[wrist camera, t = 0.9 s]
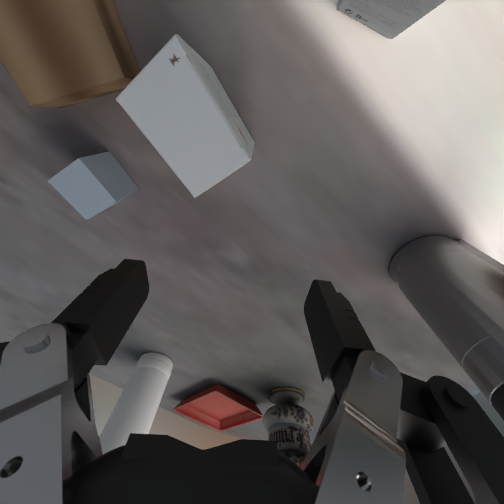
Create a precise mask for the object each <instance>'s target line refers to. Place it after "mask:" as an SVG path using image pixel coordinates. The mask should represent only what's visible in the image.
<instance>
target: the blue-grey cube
mask: <svg viewBox="0 0 504 504" xmlns="http://www.w3.org/2000/svg"><path fill="white" fill-rule="evenodd" d="M48 182H49V183H50V184H51V185H52V186H53V187H54V188H55V189H56V190H57V191H58V192H59V193H60V194H61V195H62V196H63V197H64V198H65V199H66V200H67V201H68V202H69V203H70V204H71V205H72V206H73V207H74V208H75V209H76V210H77V211H78V212H79V213H80V214H81V215H82V216H83V217H84V218H85V219H86V220H88V219H89V218H91V217H93V216H95V215H96V214H98V213H100V212H102V211H103V210H105V209H107V208H108V207H110V206H112V205H114V204H115V203H117V202H119V201H120V200H122V199H124V198H125V197H127V196H129V195H130V194H132V193H134V192H135V191H137V190H139V188H138V187H137V186H136V185H135V183H134V182H133V181H132V179H131V178H130V177H129V176H128V174H127V173H126V172H125V171H124V169H123V168H122V167H121V165H120V164H119V163H118V162H117V160H116V159H115V158H114V156H113V155H112V154H111V153H110V151H109V152H104V153H99V154H95V155H90V156H86V157H81V158H78V159H77V160H75V161H74V162H73V163H71V164H70V165H69V166H67V167H66V168H64V169H63V170H62V171H60V172H59V173H58V174H56V175H55V176H54V177H52V178H51V179H50V180H48Z"/></svg>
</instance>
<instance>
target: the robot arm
mask: <svg viewBox="0 0 504 504" xmlns="http://www.w3.org/2000/svg"><path fill="white" fill-rule="evenodd" d="M389 274H390V277H391V278H392V279H393V281H394V282H395V283H396V285H397V286H398V287H399V288H400V290H401V291H402V292H403V293H404V295H405V296H406V297H407V299H408V300H409V301H410V302H411V304H412V305H413V306H414V308H415V309H416V310H417V311H418V313H419V314H420V315H421V316H422V318H423V319H424V320H425V321H426V323H427V324H428V325H429V326H430V328H431V329H432V330H433V332H434V333H435V334H436V335H437V337H438V338H439V339H440V340H441V342H442V343H443V344H444V345H445V347H446V348H447V349H448V350H449V352H450V353H451V354H452V356H453V357H454V358H455V359H456V361H457V362H458V363H459V364H460V366H461V367H462V368H463V369H464V371H465V372H466V373H467V374H468V376H469V377H470V378H471V379H472V381H473V382H474V383H475V384H476V386H477V387H478V388H479V389H480V391H481V392H482V393H483V394H484V396H485V397H486V398H487V400H488V401H489V402H490V403H491V404H492V406H493V407H494V408H495V410H496V411H497V412H498V413H499V415H500V416H501V417H502V419H503V420H504V265H503V264H501V263H499V262H498V261H496V260H495V259H493V258H491V257H490V256H488V255H487V254H485V253H483V252H482V251H480V250H478V249H477V248H475V247H474V246H472V245H470V244H469V243H467V242H465V241H464V240H459V241H455V240H453V239H451V238H449V237H446V236H442V235H432V236H426V237H422V238H419V239H416V240H414V241H412V242H410V243H409V244H407V245H405V246H404V247H403V248H401V249H400V250H399V251H398V252H397V253H396V254H395V256H394V257H393V259H392V260H391V262H390V266H389ZM148 293H149V283H148V277H147V271H146V265H145V262H144V261H141V260H131V259H124V260H123V261H122V262H121V263H120V264H119V265H118V266H117V267H116V268H115V269H109V270H108V271H106V272H104V273H102V274H100V275H99V276H98V277H97V278H96V279H95V280H94V281H93V282H92V283H91V284H90V286H88V287H87V288H86V289H85V290H84V291H83V293H81V294H80V295H79V296H78V297H77V298H76V299H75V300H74V301H73V302H72V303H71V304H70V305H69V306H68V307H67V308H66V309H65V310H64V311H63V312H62V313H61V314H60V315H59V316H58V317H57V318H56V319H55V320H54V321H53V322H51V323H47V324H42V325H38V326H35V327H32V328H30V329H28V330H26V331H24V332H22V333H21V334H19V335H17V336H16V337H15V338H14V339H13V340H11V341H10V342H4V343H0V504H403V495H404V482H405V468H406V469H407V472H408V474H409V477H410V479H411V482H412V484H413V487H414V489H415V492H416V494H417V496H418V499H419V502H420V504H474V502H473V500H472V498H471V496H470V494H469V493H468V491H467V489H466V487H465V485H464V483H463V482H462V480H461V478H460V476H459V474H458V472H457V470H456V469H455V467H454V465H453V463H452V461H451V459H450V458H449V456H448V454H447V452H446V450H445V448H444V446H445V445H448V447H449V449H450V451H451V452H452V454H453V456H454V458H455V459H456V461H457V463H458V465H459V467H460V468H461V470H462V472H463V474H464V475H465V477H466V479H467V481H468V483H469V484H470V486H471V488H472V490H473V493H474V495H475V499H476V504H504V437H503V436H502V434H501V433H500V432H499V430H498V429H497V428H496V427H495V425H494V424H493V423H492V421H491V420H490V419H489V417H488V416H487V415H486V413H485V412H484V411H483V409H482V408H481V407H480V405H479V404H478V403H477V401H476V400H475V399H474V398H473V397H472V395H471V394H470V393H469V392H467V391H466V390H465V389H464V388H463V387H462V386H460V385H459V384H457V383H456V382H454V381H452V380H450V379H448V378H446V377H443V376H433V377H431V378H430V379H429V380H428V381H427V382H424V381H421V380H419V379H416V378H413V377H411V376H408V375H406V374H403V373H401V372H399V370H398V368H397V367H396V366H395V365H394V363H393V362H392V361H391V360H389V359H388V358H387V357H385V356H384V355H382V354H380V353H378V352H376V351H375V349H374V347H373V345H372V343H371V341H370V340H369V338H368V336H367V334H366V332H365V330H364V328H363V327H362V325H361V323H360V321H359V320H358V317H357V315H356V313H355V312H354V310H353V308H352V306H351V304H350V302H349V301H348V300H347V299H346V298H345V297H344V296H343V295H342V294H341V293H337V292H336V290H335V288H334V286H333V284H332V283H331V282H330V281H324V280H313V282H312V284H311V287H310V290H309V292H308V295H307V298H306V301H305V304H304V314H305V318H306V322H307V326H308V329H309V333H310V337H311V341H312V344H313V348H314V352H315V356H316V359H317V363H318V367H319V371H320V374H321V378H322V382H323V383H333V386H334V389H335V391H334V393H333V394H332V397H331V400H330V402H329V405H328V407H327V410H326V412H325V415H324V417H323V420H322V423H321V425H320V428H319V430H318V433H317V435H316V438H315V440H314V442H313V444H312V446H311V448H310V450H309V452H308V454H307V456H306V458H305V460H304V463H303V465H302V468H300V467H299V466H298V465H297V464H296V463H294V462H293V461H292V460H291V459H289V458H288V457H286V456H284V455H283V454H281V453H279V452H277V441H265V440H246V439H241V440H238V441H234V442H231V443H227V444H224V445H220V446H217V447H213V448H210V449H206V450H201V449H198V448H196V447H194V446H191V445H189V444H187V443H184V442H182V441H180V440H177V439H175V438H173V437H170V436H168V435H155V434H136V433H130V435H129V437H128V440H127V443H126V445H123V446H120V447H118V448H115V449H113V450H111V451H109V452H107V453H105V454H103V453H102V448H101V443H100V439H99V436H98V433H97V429H96V425H95V418H94V410H93V400H92V392H91V383H90V376H89V374H88V373H89V372H90V370H91V369H92V367H93V366H94V365H107V364H108V362H109V360H110V359H111V357H112V355H113V354H114V352H115V350H116V349H117V347H118V345H119V344H120V342H121V340H122V339H123V337H124V335H125V334H126V332H127V330H128V329H129V327H130V325H131V324H132V322H133V320H134V319H135V317H136V315H137V314H138V312H139V310H140V309H141V307H142V306H143V304H144V302H145V301H146V299H147V296H148Z"/></svg>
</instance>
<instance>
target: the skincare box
mask: <svg viewBox="0 0 504 504" xmlns="http://www.w3.org/2000/svg"><path fill="white" fill-rule="evenodd" d="M444 1H446V0H339V2H338V5H337V10H339V11H340V12H342V13H344V14H346V15H347V16H350V17H352V18H353V19H355V20H357V21H359V22H360V23H362V24H364V25H366V26H367V27H369V28H370V29H372V30H374V31H376V32H378V33H379V34H381V35H383V36H385V37H386V38H389V39H393V38H394V37H396V36H397V35H399V34H400V33H401V32H403V31H404V30H406V29H407V28H408V27H410V26H411V25H412V24H414V23H415V22H416V21H418V20H419V19H421V18H422V17H423V16H425V15H426V14H428V13H429V12H430V11H432V10H433V9H435V8H436V7H437V6H439V5H440V4H441V3H443V2H444Z"/></svg>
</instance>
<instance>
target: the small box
mask: <svg viewBox="0 0 504 504" xmlns="http://www.w3.org/2000/svg"><path fill="white" fill-rule="evenodd" d="M116 101H117V102H118V103H119V105H120V106H121V107H122V108H123V110H124V111H125V112H126V113H127V115H128V116H129V117H130V119H131V120H132V121H133V122H134V123H135V125H136V126H137V127H138V128H139V130H140V131H141V132H142V133H143V135H144V136H145V137H146V138H147V140H148V141H149V142H150V143H151V144H152V146H153V147H154V148H155V149H156V151H157V152H158V153H159V154H160V156H161V157H162V158H163V160H164V161H165V162H166V163H167V164H168V166H169V167H170V168H171V169H172V171H173V172H174V173H175V174H176V176H177V177H178V178H179V179H180V181H181V182H182V183H183V184H184V186H185V187H186V188H187V189H188V191H189V192H190V193H191V194H192V196H193V197H194V198H196V197H197V196H199V195H200V194H202V193H203V192H205V191H206V190H208V189H209V188H211V187H212V186H214V185H215V184H217V183H218V182H220V181H221V180H223V179H224V178H226V177H227V176H229V175H230V174H232V173H233V172H235V171H236V170H238V169H239V168H241V167H242V166H244V165H245V164H246V163H248V162H249V161H251V158H252V154H253V150H254V145H255V142H254V141H253V139H252V137H251V136H250V134H249V132H248V130H247V129H246V127H245V125H244V123H243V122H242V120H241V118H240V116H239V115H238V113H237V111H236V109H235V108H234V106H233V104H232V102H231V101H230V99H229V97H228V95H227V94H226V92H225V90H224V88H223V86H222V85H221V83H220V81H219V79H218V78H217V76H216V74H215V72H214V70H213V69H212V67H211V66H210V65H209V64H208V63H207V62H206V61H205V60H204V59H203V58H202V57H201V56H200V55H199V54H197V53H196V52H195V51H194V50H193V49H192V48H191V47H190V46H189V45H188V44H187V43H186V42H185V41H184V40H183V39H182V38H180V36H179V35H178V34H175V35H174V36H173V37H172V38H171V39H170V40H169V41H168V42H167V43H166V44H165V46H164V47H163V48H162V49H161V50H160V51H159V52H158V53H157V54H156V55H155V56H154V57H153V59H152V60H151V61H150V62H149V63H148V64H147V65H146V66H145V67H144V68H143V69H142V70H141V72H140V73H139V74H138V75H137V76H136V77H135V78H134V79H133V80H132V81H131V82H130V83H129V84H128V85H127V87H126V88H125V89H124V90H123V91H122V92H121V93H120V94H119V95H118V96H117V97H116Z"/></svg>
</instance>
